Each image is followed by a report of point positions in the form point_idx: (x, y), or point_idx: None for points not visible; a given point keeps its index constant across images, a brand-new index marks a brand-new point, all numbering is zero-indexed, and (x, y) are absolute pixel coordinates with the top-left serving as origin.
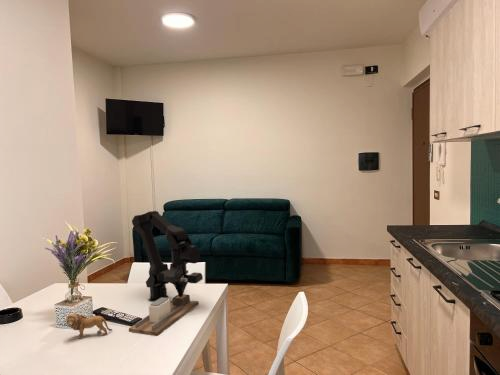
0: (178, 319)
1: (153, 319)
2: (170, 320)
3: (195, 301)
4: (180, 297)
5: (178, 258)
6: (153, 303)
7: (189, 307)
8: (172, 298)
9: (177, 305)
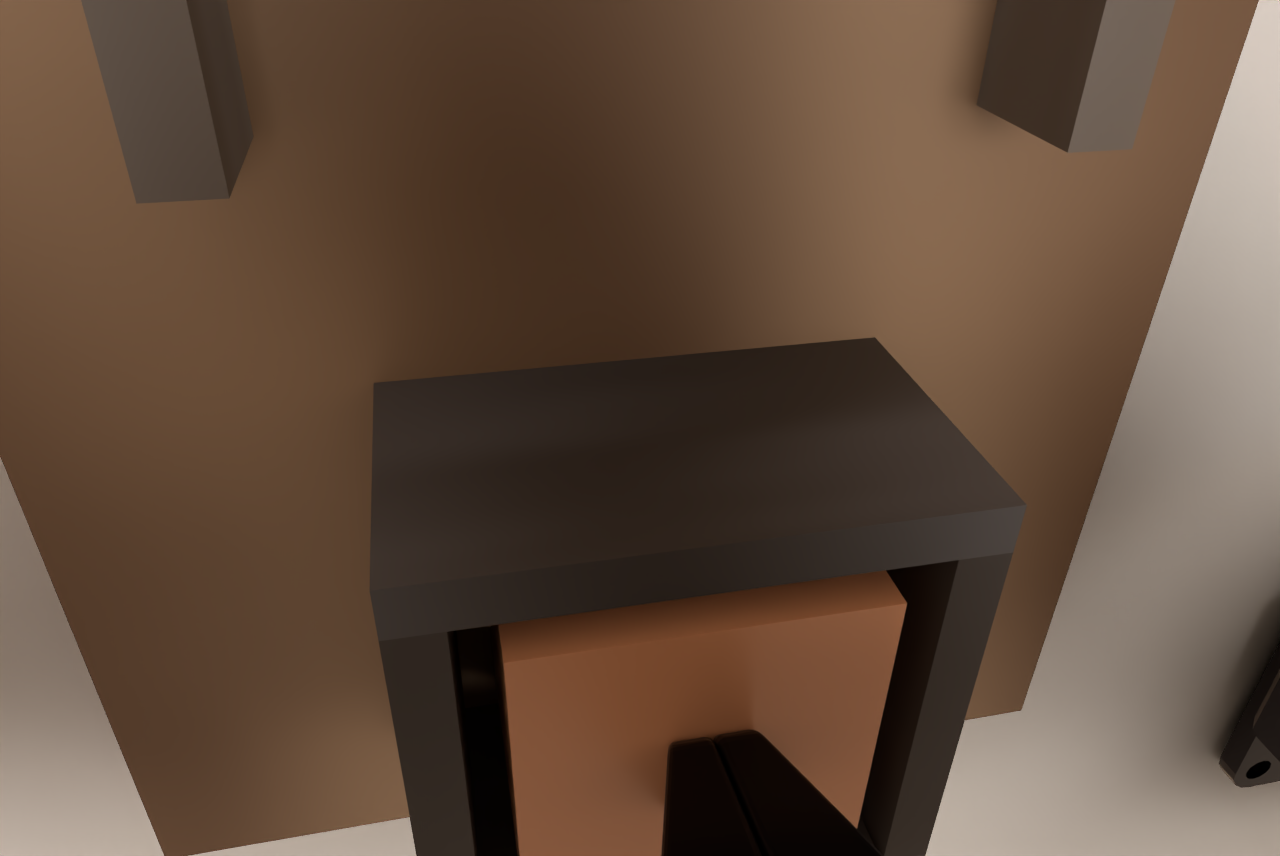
0: None
1: None
2: None
3: (266, 820)
4: (661, 692)
5: None
6: None
7: (18, 381)
8: (1009, 497)
9: (663, 359)
